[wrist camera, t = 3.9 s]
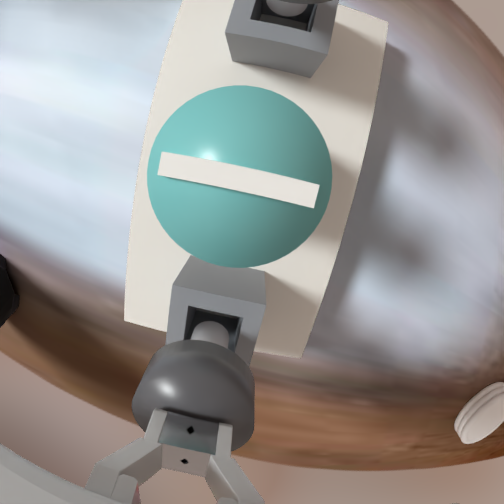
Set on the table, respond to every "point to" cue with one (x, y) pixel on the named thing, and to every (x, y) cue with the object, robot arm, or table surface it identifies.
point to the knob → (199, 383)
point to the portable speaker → (6, 294)
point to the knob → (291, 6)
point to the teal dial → (239, 176)
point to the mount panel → (326, 119)
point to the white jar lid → (481, 414)
